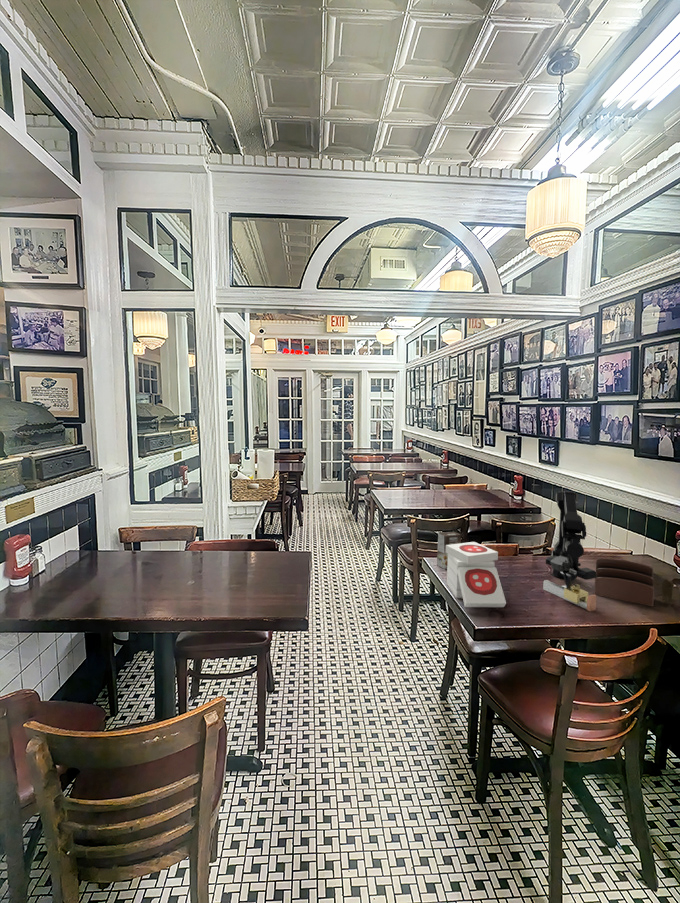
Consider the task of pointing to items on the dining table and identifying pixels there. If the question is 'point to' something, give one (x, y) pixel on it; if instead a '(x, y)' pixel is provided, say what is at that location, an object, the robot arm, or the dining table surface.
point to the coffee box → (444, 540)
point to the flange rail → (559, 591)
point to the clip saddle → (575, 593)
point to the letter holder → (624, 581)
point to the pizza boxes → (474, 575)
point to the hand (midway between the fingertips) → (568, 587)
